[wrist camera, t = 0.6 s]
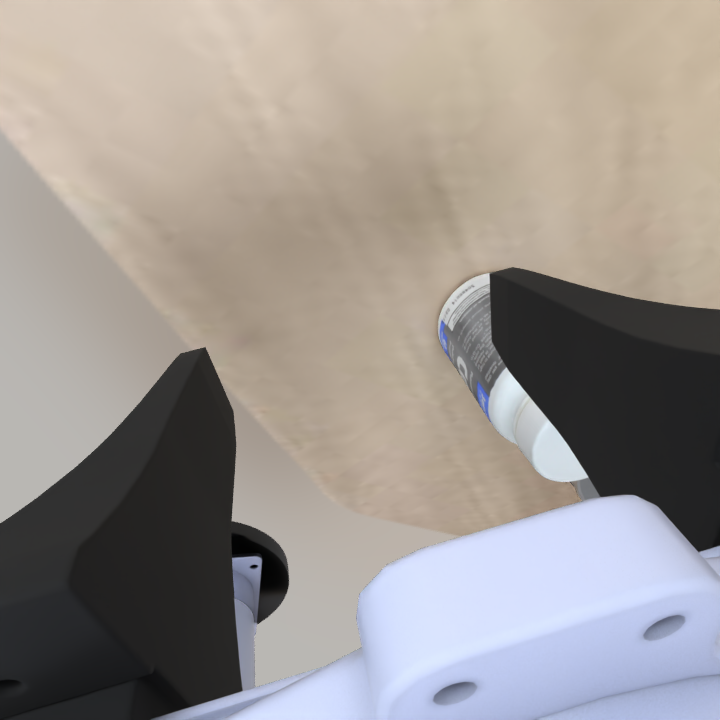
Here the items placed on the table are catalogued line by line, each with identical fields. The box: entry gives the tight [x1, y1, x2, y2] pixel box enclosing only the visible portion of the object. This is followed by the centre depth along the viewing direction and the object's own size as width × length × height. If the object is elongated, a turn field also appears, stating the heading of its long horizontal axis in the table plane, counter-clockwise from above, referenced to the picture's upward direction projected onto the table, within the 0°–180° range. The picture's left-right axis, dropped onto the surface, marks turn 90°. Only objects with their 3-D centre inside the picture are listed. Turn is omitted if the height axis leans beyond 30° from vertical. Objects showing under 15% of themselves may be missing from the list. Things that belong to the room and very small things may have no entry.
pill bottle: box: [438, 272, 588, 482], centre depth 19 cm, size 5×5×8 cm
